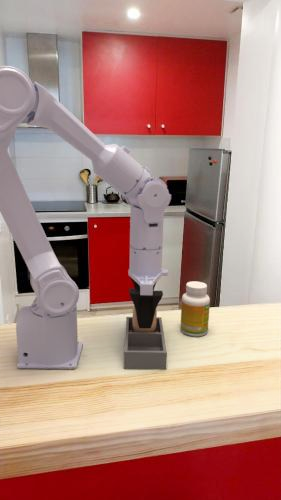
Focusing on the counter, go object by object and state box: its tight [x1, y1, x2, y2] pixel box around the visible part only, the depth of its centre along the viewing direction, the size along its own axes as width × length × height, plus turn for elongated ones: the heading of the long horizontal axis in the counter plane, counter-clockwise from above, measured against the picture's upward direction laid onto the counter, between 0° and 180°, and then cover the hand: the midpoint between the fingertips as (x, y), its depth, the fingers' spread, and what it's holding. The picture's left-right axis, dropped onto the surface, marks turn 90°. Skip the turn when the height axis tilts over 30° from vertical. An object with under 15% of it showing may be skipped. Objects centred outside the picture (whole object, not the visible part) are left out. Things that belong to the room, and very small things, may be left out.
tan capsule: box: [132, 305, 158, 332], centre depth 67 cm, size 4×4×7 cm
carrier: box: [123, 316, 168, 370], centre depth 64 cm, size 7×13×3 cm, turn 1°
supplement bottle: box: [179, 280, 211, 338], centre depth 70 cm, size 5×5×10 cm
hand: (144, 317), depth 66 cm, fingers open, 7 cm apart
